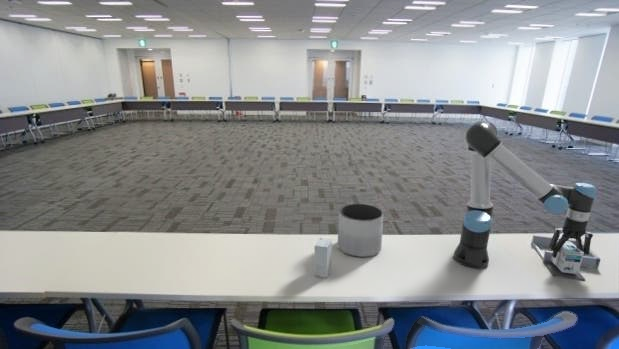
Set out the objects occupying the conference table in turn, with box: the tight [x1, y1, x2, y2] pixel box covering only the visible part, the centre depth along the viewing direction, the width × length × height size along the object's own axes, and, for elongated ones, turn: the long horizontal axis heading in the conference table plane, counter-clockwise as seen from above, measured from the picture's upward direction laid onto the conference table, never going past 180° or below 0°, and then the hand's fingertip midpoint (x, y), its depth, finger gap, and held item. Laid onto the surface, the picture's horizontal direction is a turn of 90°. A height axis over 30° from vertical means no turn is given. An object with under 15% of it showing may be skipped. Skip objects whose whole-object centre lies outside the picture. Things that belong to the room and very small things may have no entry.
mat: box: [542, 260, 586, 281], centre depth 149 cm, size 12×12×1 cm
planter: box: [337, 203, 384, 258], centre depth 165 cm, size 22×22×20 cm
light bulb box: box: [551, 240, 584, 274], centre depth 147 cm, size 11×7×11 cm, turn 168°
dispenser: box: [531, 234, 601, 270], centre depth 162 cm, size 22×18×5 cm
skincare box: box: [314, 237, 333, 279], centre depth 144 cm, size 8×6×15 cm
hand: (564, 264), depth 148 cm, fingers closed on light bulb box, 7 cm apart
